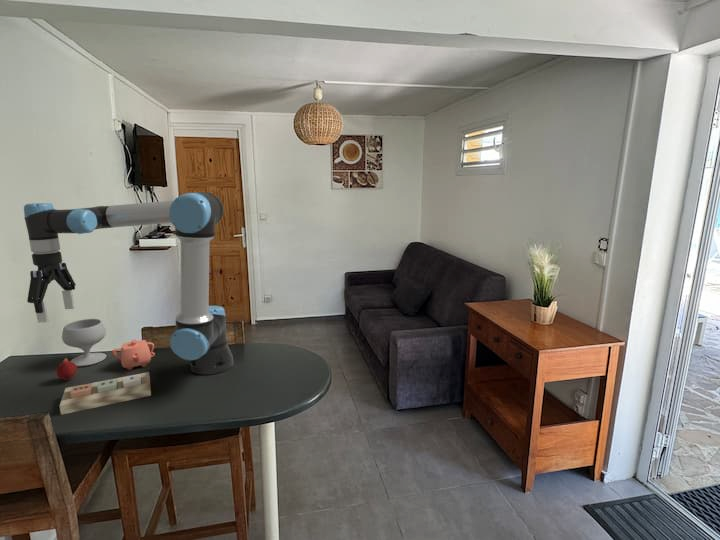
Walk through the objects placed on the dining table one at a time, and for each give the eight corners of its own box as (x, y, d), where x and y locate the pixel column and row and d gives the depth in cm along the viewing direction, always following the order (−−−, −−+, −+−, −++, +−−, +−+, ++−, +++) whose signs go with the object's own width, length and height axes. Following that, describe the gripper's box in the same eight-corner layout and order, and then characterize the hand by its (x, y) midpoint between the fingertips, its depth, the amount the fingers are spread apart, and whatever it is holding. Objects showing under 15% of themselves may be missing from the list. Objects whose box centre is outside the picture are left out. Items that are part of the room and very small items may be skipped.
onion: (67, 385, 140) (64, 363, 138) (53, 383, 141) (50, 361, 139) (82, 377, 145) (79, 356, 144) (68, 375, 146) (65, 354, 145)
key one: (141, 381, 139) (140, 373, 138) (141, 388, 135) (140, 379, 134) (124, 385, 137) (123, 376, 136) (124, 391, 132) (123, 382, 132)
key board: (149, 379, 143) (149, 372, 143) (150, 395, 133) (149, 387, 132) (67, 396, 132) (65, 388, 132) (61, 414, 122) (59, 405, 121)
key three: (92, 391, 132) (91, 382, 132) (91, 398, 128) (89, 389, 127) (74, 395, 130) (72, 386, 129) (72, 402, 126) (70, 393, 125)
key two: (117, 386, 136) (116, 377, 135) (117, 393, 131) (115, 384, 131) (100, 390, 133) (98, 381, 133) (98, 397, 129) (97, 387, 128)
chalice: (62, 371, 150) (55, 332, 147) (71, 356, 162) (65, 320, 159) (106, 364, 155) (101, 327, 152) (111, 350, 168) (107, 315, 165)
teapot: (137, 374, 148) (134, 349, 146) (112, 369, 151) (108, 345, 149) (161, 360, 159) (159, 337, 156) (137, 356, 162) (134, 333, 160)
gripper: (58, 246, 143) (68, 304, 148) (3, 259, 119) (17, 328, 123) (81, 245, 144) (90, 303, 148) (31, 259, 119) (43, 327, 124)
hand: (57, 315), depth 136 cm, fingers open, 13 cm apart
